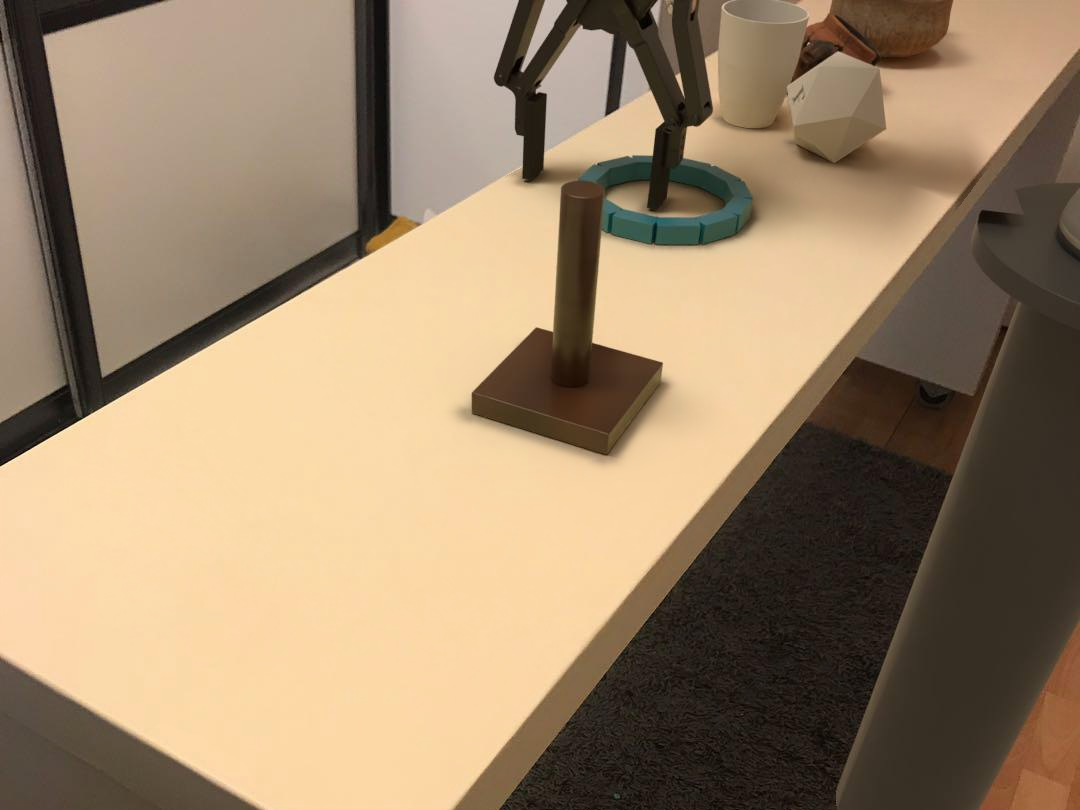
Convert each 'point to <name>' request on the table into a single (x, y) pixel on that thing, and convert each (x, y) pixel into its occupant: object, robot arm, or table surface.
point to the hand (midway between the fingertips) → (593, 188)
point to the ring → (673, 227)
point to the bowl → (897, 23)
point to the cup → (757, 58)
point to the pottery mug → (833, 44)
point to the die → (837, 106)
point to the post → (571, 350)
